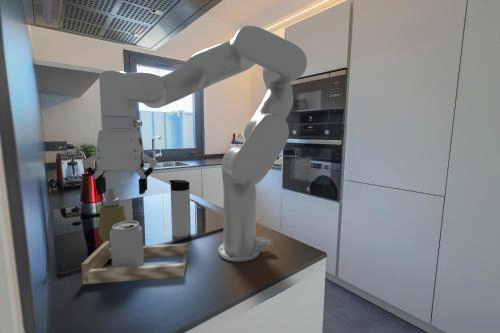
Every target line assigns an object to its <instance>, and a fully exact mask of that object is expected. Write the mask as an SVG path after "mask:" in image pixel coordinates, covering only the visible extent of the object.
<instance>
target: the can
mask: <svg viewBox="0 0 500 333" xmlns="http://www.w3.org/2000/svg"><path fill="white" fill-rule="evenodd" d="M143 238H144V237H143V227H142V226H141V225H140V222H139V221H137V220H126V221H124V222H119V223H117V224H115V225H113V226H112V230H111V232H110V248H111V259H112V260H111V268H114V267H129V266H143V265H144V260H145V258H144V256H143V246H144V239H143Z"/></svg>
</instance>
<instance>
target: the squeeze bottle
mask: <svg viewBox="0 0 500 333" xmlns="http://www.w3.org/2000/svg"><path fill="white" fill-rule="evenodd" d="M125 213H126V212H125V208H124V205H123V204H122V203H121V200H120V197H117V196H116V193H115V191H114V187H108V189H107V196H106V198H104V199H103V200H102V206H101V207H100V209H99V222H98V223H99V224H98V225H99V228H98V234H99V237H100V239H101V241H102V244H103V243H104V242H105V241H110V232H111V230H112V226H113V225H115V224H117V223H119V222H124V221H127V219H126V214H125Z"/></svg>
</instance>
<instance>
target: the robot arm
mask: <svg viewBox="0 0 500 333" xmlns="http://www.w3.org/2000/svg"><path fill="white" fill-rule="evenodd" d="M235 33H236V34H235V35H234V37H233V38H231V39H230V40H227V41H224V42H222V43H218V44H217V45H214V46H212V47H209V48H205V49H203V50H200V51H198V52H196V53H194V54H193V55H192V56H190V57H189V58H188V59H187V60H186V62H184V63H183V64H182V65H181V66H180V67H178V68H177V69H175V70H173V71H171V72H169V73H167V74H164V75H162V76H161V75H160V74H158V73H155V72H152V71H138V72H125V71H120V70H112V69H111V70H103V71H101V72H100V73H99V76H98V78H99V79H98V80H99V81H98V82H99V83H98V84H99V104H100V119H101V120H100V121H101V122H100V123H101V130H98V134H97V140H96V148H95V149H96V150H95V151H96V152H95V154H93V155H92V156H89V157H88V158H85V159H83V160H82V161H81V162H82V165H83V166H84V168H85V169H86V172H87V173H88V174H89V175H91V176H92V179H94V183H95V191H96V194H97V196H101V195H104V194H105V193H107V185H106V184H107V181H106V177H105V174H106V173H107V172H135V173H136V174H137V175H138V176H139V177H140V178H139V179H138V194H139V195H144V194H145V193H146V192H147V191H148V177H149V176H151V174H152V173H153V172H154V171H155V169H156V167H157V165H158V163H159V161H158V160H157V159H155V158H152V157H151V156H148V155H147V154H145V152H144V151H145V150H144V143H143V137H142V134H141V131H138V130H137V129H138V128H139V127H143V121H142V120H138V118H137V109H136V103H140V104H143V105H145V106H146V107H148V108H151V109H159V108H163V107H165V106H168V105H170V104H172V103H174V102H177V101H180V100H181V99H185V98H186V97H188V96H190V95H192V94H195V93H197V92H199V91H203V90H204V89H206V88H208V87H211V86H213V85H215V84H217V83H219V82H222V81H224V80H226V79H228V78H230V77H233V76H236V75H239V74H240V73H243V72H246V71H247V70H249V69H251V68H252V67H254V66H255V65H257V66H260V67H261V68H263V69H262V79H263V82H264V84H265V96H264V98H263V99H262V101H261V103H260V104H259V106H258V108H257V110H256V111H255V112H254V114H253V115H252V116H251V118H250V119H249V121H248V122H247V123H246V126H245V128H244V131H243V133H244V134H243V135H244V139H245V141H244V143H243V145H242V146H234V147H232V148H229V149H228V150H227V151H226V152H225V153H224V155H223V157H222V159H221V161H222V162H221V178H222V189H223V190H222V191H223V195H222V196H223V198H222V199H223V242H222V243H221V244H220V245H219V246H218V255H219V256H220V257H221V258H222V259H224V260H225V261H229V262H235V263H240V262H241V263H243V262H249V261H252V260H254V259H256V258H258V257H259V255H260V254H261V248H262V247H271V246H272V240H271V239H266V237H265V236H264V237H263V236H261V237H258V236H257V235H256V226H257V225H256V223H257V222H256V221H257V220H256V216H257V213H256V209H257V208H256V206H257V205H256V204H257V192H256V191H257V189H256V185H257V184H259V183H260V182H261V181H263V180H264V179H265V177H266V176H267V175H268V173H269V172H270V170H271V169H272V167H273V165H274V164H275V162H276V161H277V159H279V157H280V156H281V153H282V151H283V150H284V148H285V147H286V145H287V143H288V139H289V136H290V129H289V124H288V122H287V121H286V119H287V117H288V115H289V114H290V111H292V108H293V104H294V92H293V86H292V83H291V82H294V81H296V80H297V79H300V78H301V77H302V76H303V75H304V73H305V72H306V70H307V65H308V60H307V56H306V53H305V51H304V50H303V49H302V48H301V47H300V46H298V45H297V44H295V43H293V42H291V41H289V40H288V39H285V38H283V37H281V36H279V35H277V34H275V33H273V32H271V31H269V30H266V29H264V28H262V27H258V26H255V25H245V26H242V27H241V28H240V29H238V30H237V32H235ZM93 162H96V168H95V167H94V166H93ZM145 162H147V163H148V164H149V167H148V168H147V169H145V166H146V163H145Z"/></svg>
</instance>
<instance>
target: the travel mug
mask: <svg viewBox="0 0 500 333" xmlns="http://www.w3.org/2000/svg"><path fill="white" fill-rule="evenodd" d="M168 181H169V183H170V211H171V216H170V217H171V237H172V238H173V239H174V238H175V239H174V240H184V239H183V238H186V239H188V238H190V237H191V235H192V230H191V197H190V196H191V192H190V181H187V180H183V179H170V180H168ZM189 236H190V237H189ZM187 237H188V238H187Z"/></svg>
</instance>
